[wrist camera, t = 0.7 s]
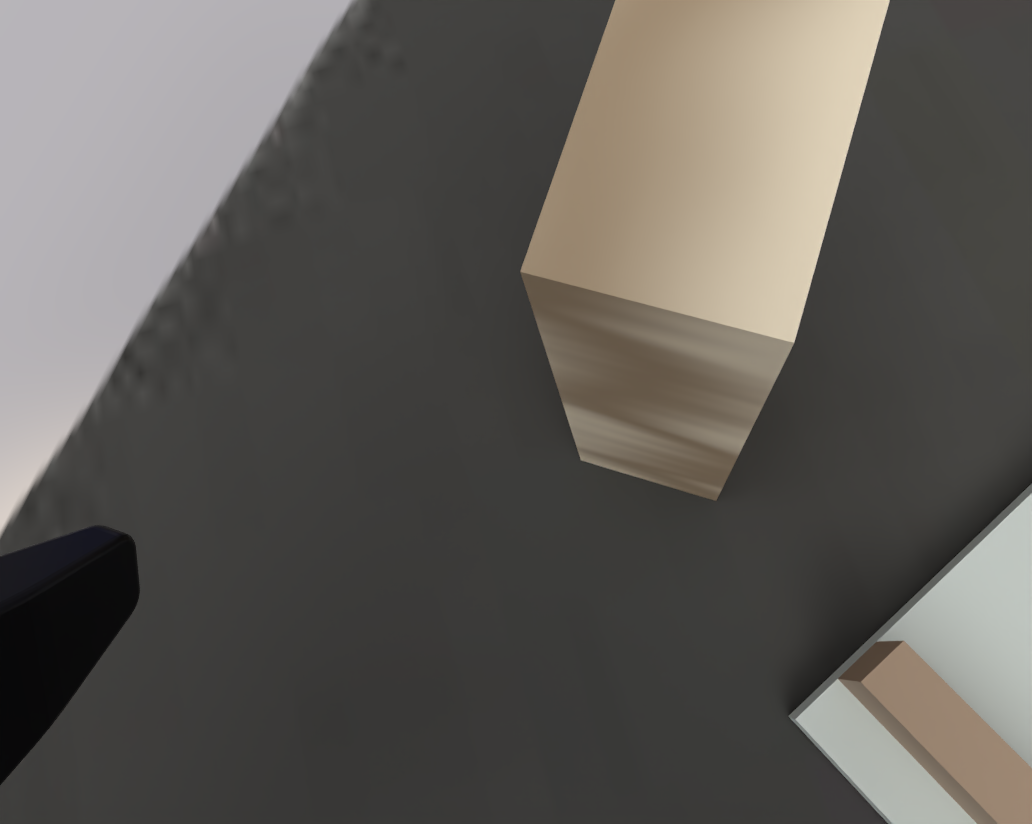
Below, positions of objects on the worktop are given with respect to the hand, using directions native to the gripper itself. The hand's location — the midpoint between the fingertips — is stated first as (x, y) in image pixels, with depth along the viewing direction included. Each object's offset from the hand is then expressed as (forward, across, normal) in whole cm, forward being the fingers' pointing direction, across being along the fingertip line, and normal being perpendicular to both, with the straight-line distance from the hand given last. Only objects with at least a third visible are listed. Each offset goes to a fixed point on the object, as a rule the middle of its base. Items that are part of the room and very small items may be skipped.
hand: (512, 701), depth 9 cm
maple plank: (+15, 0, +4) cm, 15 cm away
